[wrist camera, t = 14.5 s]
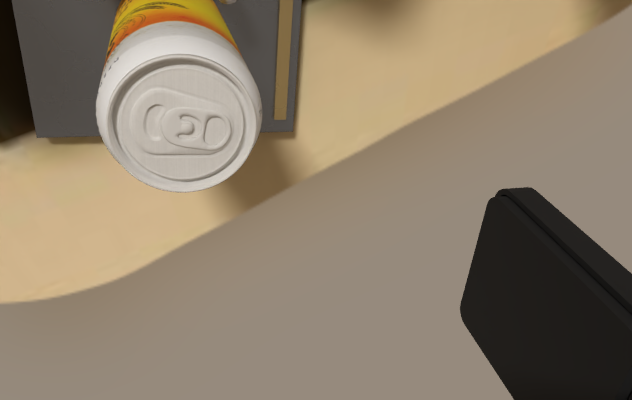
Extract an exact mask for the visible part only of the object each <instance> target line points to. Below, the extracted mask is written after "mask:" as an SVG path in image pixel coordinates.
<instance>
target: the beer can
mask: <svg viewBox="0 0 632 400" xmlns="http://www.w3.org/2000/svg"><path fill="white" fill-rule="evenodd" d="M96 119H97V125H98V129H99V132H100V135H101V137H102V140H103V142H104V144H105V146H106V147H107V149H108V150H109V152H110V153H111V155H112V156H113V157H114V158H115V159H116V160H117V161H118V163H119V164H121V165H122V166H123V167H124V168H125V169H126V170H127V171H128V172H129V173H130V174H131V175H132V176H134V177H135V178H137V179H138V180H139V181H141V182H143V183H145V184H147V185H149V186H152V187H154V188H157V189H160V190H164V191H170V192H195V191H200V190H204V189H207V188H211V187H213V186H215V185H218V184H219V183H221V182H223V181H225V180H226V179H228V178H229V177H231V176H232V175H233V174H234V173H235V172H236V171H237V170H238V169H239V168H240V167H241V166H242V165H243V163H244V162H245V161H246V159H247V158H248V156H249V154H250V152H251V150H252V149H253V147H254V145H255V143H256V141H257V138H258V136H259V132H260V129H261V123H262V102H261V98H260V93H259V91H258V88H257V85H256V83H255V81H254V79H253V77H252V75H251V73H250V71H249V69H248V67H247V65H246V63H245V61H244V59H243V57H242V55H241V53H240V51H239V49H238V47H237V45H236V43H235V41H234V39H233V37H232V35H231V33H230V31H229V29H228V27H227V25H226V23H225V21H224V19H223V18H222V16H221V14H220V12H219V10H218V8H217V6H216V4H215V3H214V1H213V0H121V2H120V4H119V6H118V9H117V12H116V16H115V20H114V25H113V29H112V33H111V38H110V42H109V46H108V51H107V55H106V59H105V64H104V68H103V72H102V77H101V81H100V86H99V90H98V94H97V100H96Z"/></svg>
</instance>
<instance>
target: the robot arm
mask: <svg viewBox="0 0 632 400" xmlns="http://www.w3.org/2000/svg"><path fill="white" fill-rule="evenodd" d="M460 312H461V317H462V320H463V322H464V324H465V326H466V327H467V329H468V330H469V332H470V333H471V335H472V336H473V338H474V339H475V341H476V342H477V344H478V345H479V347H480V348H481V350H482V352H483V353H484V355H485V356H486V358H487V359H488V360H489V362H490V364H491V365H492V367H493V368H494V370H495V371H496V373H497V374H498V376H499V377H500V379H501V380H502V382H503V383H504V385H505V386H506V388H507V390H508V391H509V393H510V394H511V396H512V397H513V399H514V400H632V274H631V273H630V272H629V271H628V270H627V269H625V268H624V267H623V266H622V265H621V264H620V263H619V262H617V261H616V260H615V259H614V258H613V257H612V256H610V255H609V254H608V253H607V252H606V251H605V250H603V248H601V247H600V246H599V245H598V244H597V243H595V242H594V241H593V240H592V239H591V238H590V237H589V236H588V235H586V234H585V233H584V232H583V231H581V229H579V228H578V227H577V226H576V225H575V224H574V223H573V222H571V221H570V220H569V219H568V218H567V217H565V215H563V214H562V213H561V212H560V211H559V210H558V209H556V208H555V207H554V206H553V205H552V204H551V203H550V202H548V201H547V200H546V199H545V198H544V197H543V196H542V195H540V194H539V193H538V192H537V191H536V190H534V189H533V188H528V187H526V188H511V189H502V190H499V191H498V192H497V194H496V195H495V197H493V198H491V199H490V200H489V201H488V204H487V207H486V211H485V215H484V219H483V222H482V226H481V230H480V233H479V237H478V241H477V245H476V249H475V252H474V256H473V260H472V263H471V267H470V271H469V275H468V278H467V282H466V286H465V290H464V293H463V297H462V301H461V306H460Z"/></svg>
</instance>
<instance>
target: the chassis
mask: <svg viewBox="0 0 632 400" xmlns="http://www.w3.org/2000/svg"><path fill="white" fill-rule="evenodd" d="M213 1H214V3H215V4H216V6H217V8H218V10H219V12H220V14H221V16H222V18H223V19H224V21H225V23H226V25H227V27H228V29H229V31H230V33H231V35H232V37H233V39H234V41H235V43H236V45H237V47H238V49H239V51H240V53H241V55H242V57H243V59H244V61H245V63H246V65H247V67H248V69H249V71H250V73H251V75H252V77H253V79H254V81H255V83H256V85H257V88H258V91H259V93H260V98H261V102H262V123H261V129H260V132H289V131H293V121H294V106H295V91H296V76H297V61H298V47H299V32H300V17H301V2H302V0H213ZM120 2H121V0H12V5H13V11H14V16H15V21H16V27H17V32H18V38H19V43H20V49H21V54H22V59H23V65H24V70H25V76H26V81H27V87H28V92H29V97H30V103H31V108H32V114H33V119H34V125H35V130H36V135H37V138H41V137H82V136H101V135H100V132H99V129H98V125H97V119H96V100H97V94H98V90H99V86H100V81H101V77H102V72H103V68H104V64H105V59H106V55H107V51H108V46H109V42H110V38H111V33H112V29H113V25H114V20H115V16H116V12H117V9H118V6H119V4H120Z"/></svg>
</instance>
